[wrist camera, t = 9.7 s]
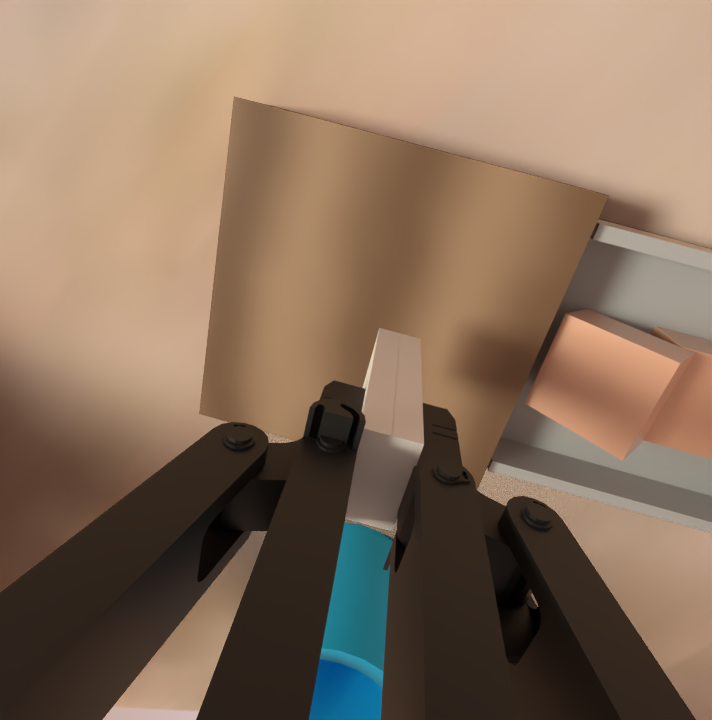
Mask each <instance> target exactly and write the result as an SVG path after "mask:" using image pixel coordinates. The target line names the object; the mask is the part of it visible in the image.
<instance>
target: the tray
mask: <svg viewBox="0 0 712 720" xmlns="http://www.w3.org/2000/svg"><path fill="white" fill-rule="evenodd" d="M583 309H590V310H593V311H595V312H597V313H600V314H602V315H605V316H607V317H609V318H612V319H614V320H617V321H619V322H621V323H624V324H626V325H629V326H631V327H633V328H636V329H638V330H641V331H643V332H645V333H648V334H650V335H651V333H652V331H653V330H654V328H655V326H658V327H662V328H665V329H669V330H673V331H677V332H680V333H684V334H688V335H692V336H695V337H699V338H703V339H707V340H711V341H712V249H709V248H706V247H702V246H698V245H694V244H690V243H687V242H683V241H679V240H675V239H672V238H668V237H664V236H660V235H657V234H653V233H649V232H645V231H642V230H638V229H634V228H630V227H627V226H623V225H619V224H615V223H611V222H608V221H604V220H600V219H598V221H597V224H596V226H595V228H594V230H593V232H592V235H591V237H590V239H589V241H588V244H587V246H586V248H585V250H584V253H583V255H582V257H581V259H580V261H579V264H578V266H577V268H576V270H575V273H574V275H573V277H572V279H571V281H570V284H569V286H568V288H567V290H566V293H565V295H564V297H563V299H562V302H561V304H560V306H559V308H558V310H557V313H556V315H555V317H554V319H553V322H552V324H551V326H550V328H549V331H548V333H547V335H546V337H545V339H544V342H543V344H542V346H541V348H540V351H539V353H538V355H537V357H536V359H535V362H534V364H533V366H532V368H531V371H530V373H529V375H528V377H527V380H526V382H525V384H524V386H523V388H522V391H521V393H520V395H519V397H518V400H517V402H516V404H515V406H514V408H513V411H512V413H511V415H510V417H509V420H508V422H507V424H506V426H505V429H504V431H503V433H502V435H501V437H500V440H499V442H498V444H497V446H496V449H495V451H494V453H493V455H492V457H491V460H490V462H489V464H488V466H487V467H488V471H491V472H494V473H498V474H501V475H505V476H508V477H512V478H516V479H519V480H523V481H526V482H530V483H533V484H537V485H541V486H544V487H548V488H551V489H555V490H558V491H562V492H566V493H569V494H573V495H576V496H580V497H583V498H587V499H591V500H594V501H598V502H601V503H605V504H608V505H612V506H616V507H619V508H623V509H626V510H630V511H633V512H637V513H641V514H644V515H648V516H651V517H655V518H658V519H662V520H666V521H669V522H673V523H676V524H680V525H683V526H687V527H691V528H694V529H698V530H701V531H705V532H708V533H712V459H710V458H706V457H702V456H699V455H695V454H691V453H688V452H684V451H680V450H677V449H673V448H669V447H666V446H662V445H658V444H655V443H651V442H647V441H644V440H643V441H642V443H641V444H640V445H639V446H638V447H637V448H636V449H635V450H633V451H632V452H631V453H630V454H629V455H628V456H627V457H626V458H625V459H624V460H623V461H622V460H620V459H619V458H617V457H615V456H614V455H612V454H610V453H609V452H607V451H605V450H603V449H602V448H600V447H598V446H597V445H595V444H593V443H591V442H590V441H588V440H586V439H585V438H583V437H581V436H580V435H578V434H576V433H574V432H573V431H571V430H569V429H568V428H566V427H564V426H563V425H561V424H559V423H557V422H556V421H554V420H552V419H551V418H549V417H547V416H545V415H544V414H542V413H540V412H539V411H537V410H535V409H534V408H532V407H530V406H528V405H527V404H525V401H526V399H527V397H528V395H529V393H530V390H531V388H532V386H533V384H534V382H535V379H536V377H537V375H538V373H539V371H540V368H541V366H542V364H543V362H544V360H545V357H546V355H547V353H548V351H549V349H550V346H551V344H552V342H553V340H554V338H555V335H556V333H557V331H558V329H559V327H560V324H561V322H562V320H563V318H564V316H565V313H569V312H574V311H579V310H583Z"/></svg>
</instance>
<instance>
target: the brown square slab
mask: <svg viewBox="0 0 712 720" xmlns="http://www.w3.org/2000/svg"><path fill="white" fill-rule="evenodd" d="M608 197H609V196H608V195H604V194H601V193H597V192H594V191H590V190H586V189H583V188H579V187H575V186H572V185H568V184H564V183H560V182H557V181H553V180H549V179H545V178H541V177H538V176H534V175H530V174H526V173H522V172H519V171H515V170H511V169H507V168H504V167H500V166H496V165H492V164H488V163H485V162H481V161H477V160H473V159H470V158H466V157H462V156H458V155H454V154H451V153H447V152H443V151H439V150H436V149H432V148H428V147H424V146H420V145H417V144H413V143H409V142H405V141H401V140H398V139H394V138H390V137H386V136H383V135H379V134H375V133H371V132H367V131H364V130H360V129H356V128H352V127H349V126H345V125H341V124H337V123H333V122H330V121H326V120H322V119H318V118H315V117H311V116H307V115H303V114H299V113H296V112H292V111H288V110H284V109H281V108H277V107H273V106H269V105H265V104H262V103H258V102H254V101H250V100H246V99H242V98H238V97H234V101H233V110H232V119H231V128H230V137H229V146H228V156H227V165H226V174H225V183H224V192H223V201H222V210H221V220H220V229H219V238H218V247H217V256H216V265H215V275H214V284H213V293H212V302H211V311H210V320H209V330H208V339H207V348H206V357H205V366H204V375H203V385H202V394H201V403H200V412H199V414H202V415H206V416H209V417H213V418H216V419H220V420H224V421H227V422H239V423H247V424H250V425H253V426H256V427H257V428H259V429H261V430H262V431H263V432H266V433H270V434H273V435H277V436H280V437H284V438H288V439H291V440H295V441H297V440H299V439H301V438H302V437H303V435H304V430H305V426H306V422H307V417H308V413H309V409H310V406H311V405H312V404H313V403H314V402H316V401H319V400H320V397H321V394H322V392H323V389H324V386H326V385H327V384H329V383H331V382H332V381H334V380H335V381H339V382H342V383H346V384H350V385H354V386H357V387H361V388H363V384H364V381H365V377H366V374H367V370H368V367H369V363H370V359H371V356H372V352H373V349H374V345H375V342H376V338H377V335H378V331H379V328H382V329H386V330H389V331H393V332H397V333H401V334H404V335H408V336H412V337H416V338H419V339H420V340H421V370H422V399H423V403H426V404H429V405H433V406H437V407H441V408H444V409H448V411H449V412H450V413H451V415H452V416H453V417H454V419H455V420H456V427H457V433H458V441H459V446H460V453H461V460H462V466H463V467H465V468H466V469H467V470H468V471H469V472H470V473H471V474H472V476H473V478H474V481H475V484H476V490H477V489H478V486H479V484H480V482H481V480H482V478H483V475H484V473H485V471H486V469H487V466H488V464H489V462H490V460H491V457H492V455H493V453H494V451H495V449H496V446H497V444H498V442H499V440H500V437H501V435H502V433H503V431H504V429H505V426H506V424H507V422H508V420H509V417H510V415H511V413H512V411H513V408H514V406H515V404H516V402H517V400H518V397H519V395H520V393H521V391H522V388H523V386H524V384H525V382H526V380H527V377H528V375H529V373H530V371H531V368H532V366H533V364H534V362H535V359H536V357H537V355H538V353H539V351H540V348H541V346H542V344H543V342H544V339H545V337H546V335H547V333H548V331H549V328H550V326H551V324H552V322H553V319H554V317H555V315H556V313H557V310H558V308H559V306H560V304H561V302H562V299H563V297H564V295H565V293H566V290H567V288H568V286H569V284H570V281H571V279H572V277H573V275H574V273H575V270H576V268H577V266H578V264H579V261H580V259H581V257H582V255H583V253H584V250H585V248H586V246H587V244H588V241H589V239H590V237H591V235H592V232H593V230H594V228H595V226H596V224H597V221H598V219H599V217H600V215H601V212H602V210H603V208H604V206H605V204H606V201H607V199H608Z"/></svg>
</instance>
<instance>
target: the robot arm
mask: <svg viewBox="0 0 712 720" xmlns="http://www.w3.org/2000/svg"><path fill="white" fill-rule="evenodd" d="M397 517H398V518H397ZM345 519H347V520H351V521H355V522H358V523H362V524H366V525H370V526H373V527H377V528H381V529H385V530H388V531H393V528H394V525H395V522H396V520H397V532H396V534H395V537H394V540H393V543H392V545H391V548H390V551H389V553H388V556H387V559H386V561H385V564H384V567H383V570H388V567H389V564H390V572H389V588H388V604H387V621H386V637H385V654H384V670H383V687H382V703H381V719H380V720H696V719H695V718H694V716H693V715H692V713H691V712H690V710H689V709H688V707H687V706H686V704H685V703H684V701H683V700H682V698H681V697H680V695H679V694H678V692H677V691H676V689H675V688H674V686H673V685H672V683H671V682H670V680H669V679H668V677H667V676H666V674H665V673H664V671H663V670H662V668H661V667H660V665H659V664H658V662H657V661H656V659H655V658H654V656H653V655H652V653H651V652H650V650H649V649H648V647H647V646H646V644H645V643H644V641H643V640H642V638H641V637H640V635H639V634H638V632H637V631H636V629H635V628H634V626H633V625H632V623H631V622H630V620H629V619H628V617H627V616H626V614H625V613H624V611H623V610H622V608H621V607H620V605H619V604H618V602H617V601H616V599H615V598H614V596H613V595H612V593H611V592H610V590H609V589H608V587H607V586H606V584H605V583H604V581H603V580H602V578H601V577H600V575H599V574H598V572H597V571H596V569H595V568H594V566H593V565H592V563H591V562H590V560H589V559H588V557H587V556H586V554H585V553H584V551H583V550H582V548H581V547H580V545H579V544H578V542H577V541H576V539H575V538H574V536H573V535H572V533H571V532H570V530H569V529H568V527H567V526H566V524H565V523H564V521H563V520H562V519H561V518H560V517H559V515H558V514H557V513H556V512H555V511H554V510H552V509H551V508H550V507H548V506H547V505H546V504H544V503H542V502H540V501H538V500H536V499H533V498H529V497H525V496H519V497H513V498H512V499H510V500H509V501H508V503H507V505H506V506H504V505H502V504H500V503H498V502H496V501H494V500H492V499H490V498H488V497H486V496H485V495H483V494H481V493H480V492H479V491H477V490H476V484H475V481H474V478H473V476H472V474H471V473H470V472H469V471H468V470H467V469H466V468H465V467H463V466H462V460H461V453H460V446H459V441H458V433H457V427H456V420H455V419H454V417H453V416H452V415H451V413H450V412H449V411H448V409H444V408H441V407H437V406H433V405H429V404H426V403H423V399H422V370H421V340H420V339H419V338H416V337H412V336H408V335H404V334H401V333H397V332H393V331H389V330H386V329H382V328H379V331H378V335H377V338H376V342H375V345H374V349H373V352H372V356H371V359H370V363H369V367H368V370H367V374H366V377H365V381H364V384H363V388H361V387H357V386H354V385H350V384H346V383H342V382H339V381H335V380H334V381H332V382H331V383H329V384H327V385H326V386H324V389H323V392H322V394H321V397H320V400H319V401H316V402H314V403H313V404H312V405H311V406H310V409H309V413H308V417H307V422H306V426H305V430H304V435H303V437H302V438H301V439H299V440H297V441H294V442H289V443H269V442H268V437H267V436H266V434H265V433H264V432H263V431H262V430H261V429H259V428H257V427H256V426H253V425H250V424H247V423H239V422H231V423H225V424H221V425H219V426H217V427H215V428H213V429H212V430H211V431H210V432H208V433H207V434H206V435H204V436H203V437H202V438H200V439H199V440H198V441H197V442H195V443H194V444H193V445H191V446H190V447H189V448H187V449H186V450H185V451H184V452H182V453H181V454H180V455H178V456H177V457H176V458H175V459H173V460H172V461H171V462H169V463H168V464H167V465H165V466H164V467H163V468H162V469H160V470H159V471H158V472H156V473H155V474H154V475H152V476H151V477H150V478H149V479H147V480H146V481H145V482H143V483H142V484H141V485H139V486H138V487H137V488H136V489H134V490H133V491H132V492H130V493H129V494H128V495H127V496H125V497H124V498H123V499H121V500H120V501H119V502H117V503H116V504H115V505H114V506H112V507H111V508H110V509H108V510H107V511H106V512H104V513H103V514H102V515H101V516H99V517H98V518H97V519H95V520H94V521H93V522H91V523H90V524H89V525H88V526H86V527H85V528H84V529H82V530H81V531H80V532H79V533H77V534H76V535H75V536H73V537H72V538H71V539H69V540H68V541H67V542H66V543H64V544H63V545H62V546H60V547H59V548H58V549H56V550H55V551H54V552H53V553H51V554H50V555H49V556H47V557H46V558H45V559H44V560H42V561H41V562H40V563H38V564H37V565H36V566H34V567H33V568H32V569H31V570H29V571H28V572H27V573H25V574H24V575H23V576H21V577H20V578H19V579H18V580H16V581H15V582H14V583H12V584H11V585H10V586H8V587H7V588H6V589H5V590H3V591H2V592H1V593H0V720H102V719H103V718H104V717H105V716H106V714H107V713H108V712H109V710H110V709H111V708H112V707H113V706H114V704H115V703H116V702H117V701H118V699H119V698H120V697H121V696H122V694H123V693H124V692H125V691H126V689H127V688H128V687H129V686H130V684H131V683H132V682H133V681H134V680H135V678H136V677H137V676H138V675H139V673H140V672H141V671H142V670H143V668H144V667H145V666H146V665H147V663H148V662H149V661H150V660H151V658H152V657H153V656H154V655H155V653H156V652H157V651H158V650H159V648H160V647H161V646H162V645H163V643H164V642H165V641H166V640H167V638H168V637H169V636H170V635H171V633H172V632H173V631H174V630H175V629H176V627H177V626H178V625H179V624H180V622H181V621H182V620H183V619H184V617H185V616H186V615H187V614H188V612H189V611H190V610H191V609H192V607H193V606H194V605H195V604H196V602H197V601H198V600H199V599H200V597H201V596H202V595H203V594H204V592H205V591H206V590H207V589H208V587H209V586H210V585H211V584H212V582H213V581H214V580H215V579H216V578H217V576H218V575H219V574H220V573H221V571H222V570H223V569H224V568H225V566H226V565H227V564H228V563H229V561H230V560H231V559H232V558H233V556H234V555H235V554H236V553H237V551H238V550H239V549H240V548H241V546H242V545H243V544H244V543H245V541H246V540H247V539H248V538H249V536H250V533H251V531H267V533H266V536H265V539H264V541H263V544H262V547H261V549H260V552H259V555H258V557H257V560H256V563H255V565H254V568H253V571H252V573H251V576H250V579H249V581H248V584H247V586H246V589H245V592H244V594H243V597H242V600H241V602H240V605H239V608H238V610H237V613H236V616H235V618H234V621H233V624H232V626H231V629H230V632H229V634H228V637H227V640H226V642H225V645H224V647H223V650H222V653H221V655H220V658H219V661H218V663H217V666H216V669H215V671H214V674H213V677H212V679H211V682H210V685H209V687H208V690H207V693H206V695H205V698H204V701H203V703H202V706H201V708H200V711H199V714H198V716H197V719H196V720H309V716H310V710H311V705H312V699H313V694H314V688H315V683H316V677H317V671H318V666H319V660H320V655H321V649H322V644H323V638H324V633H325V627H326V622H327V616H328V611H329V605H330V600H331V594H332V589H333V583H334V577H335V572H336V566H337V561H338V555H339V550H340V544H341V539H342V533H343V528H344V522H345ZM532 593H533V595H534V597H535V599H536V601H537V604H538V607H537V605H536V604H535V603H534V601H533V599H532V597H531V594H532Z"/></svg>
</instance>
